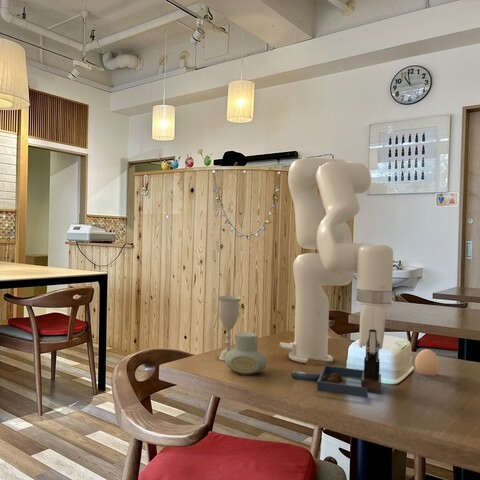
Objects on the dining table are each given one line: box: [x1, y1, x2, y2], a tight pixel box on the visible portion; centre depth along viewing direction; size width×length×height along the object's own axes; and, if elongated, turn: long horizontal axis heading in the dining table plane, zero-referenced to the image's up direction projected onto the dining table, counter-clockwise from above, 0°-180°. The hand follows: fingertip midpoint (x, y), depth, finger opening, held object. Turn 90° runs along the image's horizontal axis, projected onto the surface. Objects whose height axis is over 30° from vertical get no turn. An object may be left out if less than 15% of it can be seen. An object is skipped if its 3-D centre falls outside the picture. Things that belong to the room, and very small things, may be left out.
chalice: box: [217, 295, 242, 362], centre depth 142 cm, size 7×7×18 cm
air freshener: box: [224, 331, 268, 376], centre depth 128 cm, size 11×8×10 cm
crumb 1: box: [326, 376, 340, 384], centre depth 114 cm, size 3×3×3 cm
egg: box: [414, 348, 441, 377], centre depth 127 cm, size 6×6×8 cm
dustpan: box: [290, 365, 369, 399], centre depth 116 cm, size 18×16×3 cm
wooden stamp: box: [360, 372, 382, 395], centre depth 112 cm, size 4×8×8 cm, turn 155°
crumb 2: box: [329, 373, 343, 383], centre depth 118 cm, size 3×3×3 cm
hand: (371, 376), depth 112 cm, fingers closed on wooden stamp, 2 cm apart
